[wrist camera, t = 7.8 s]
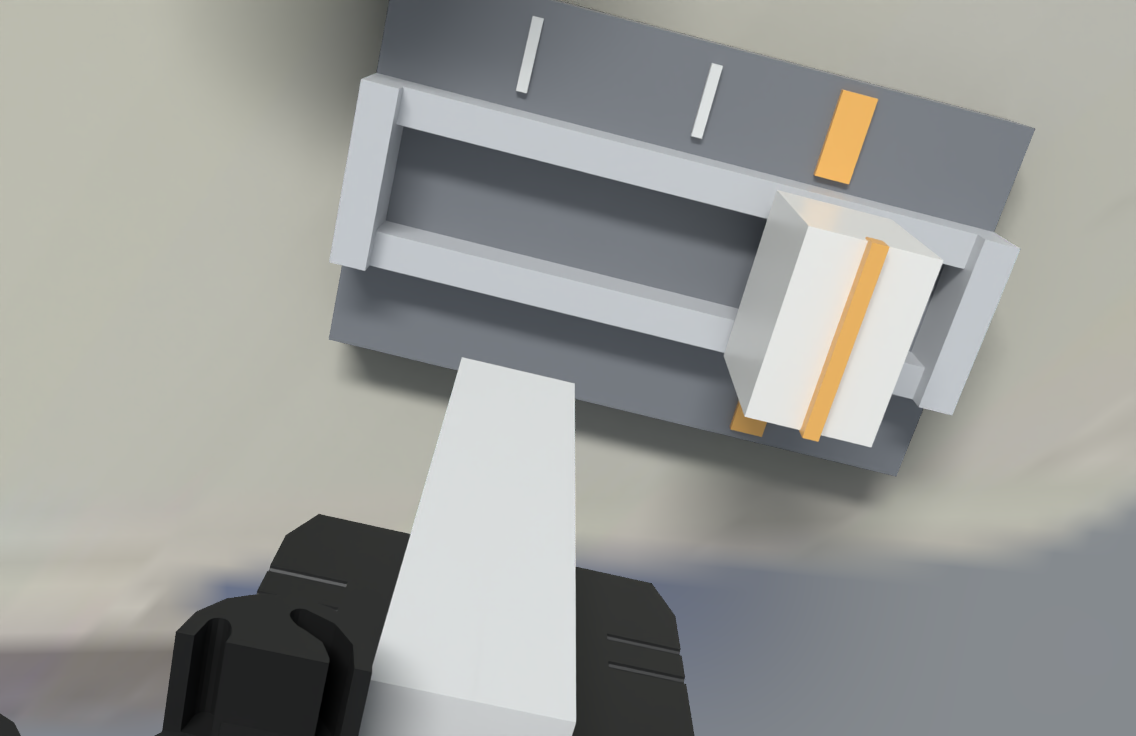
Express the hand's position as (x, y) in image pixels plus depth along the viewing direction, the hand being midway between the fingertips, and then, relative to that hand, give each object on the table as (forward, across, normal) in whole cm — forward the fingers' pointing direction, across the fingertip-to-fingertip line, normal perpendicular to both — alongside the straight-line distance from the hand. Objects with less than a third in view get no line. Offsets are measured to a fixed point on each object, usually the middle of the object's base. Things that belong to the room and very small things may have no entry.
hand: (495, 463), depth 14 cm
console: (+19, +4, 0) cm, 19 cm away
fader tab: (+17, +8, 0) cm, 18 cm away
